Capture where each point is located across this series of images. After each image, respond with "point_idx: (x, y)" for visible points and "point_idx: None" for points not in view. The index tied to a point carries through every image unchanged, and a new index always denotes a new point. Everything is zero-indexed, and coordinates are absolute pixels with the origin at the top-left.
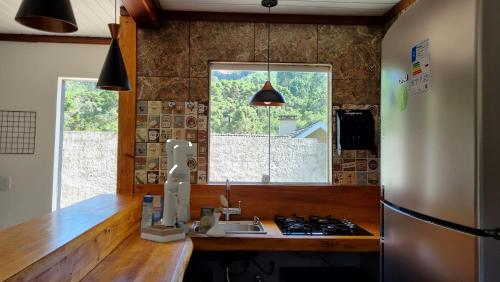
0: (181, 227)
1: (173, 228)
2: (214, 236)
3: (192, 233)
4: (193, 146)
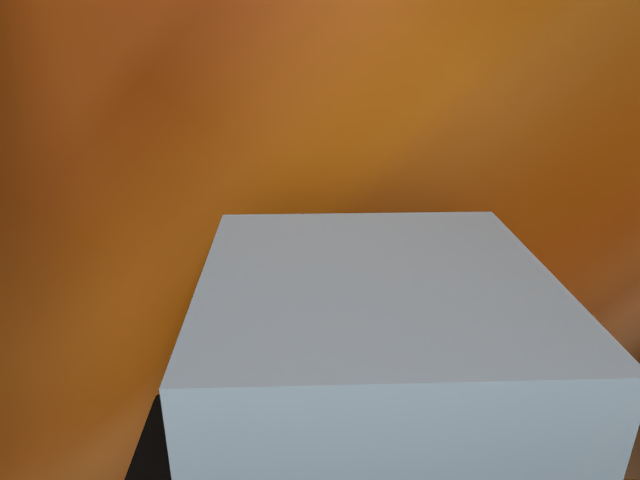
0: None
1: (205, 262)
2: None
3: None
4: None
